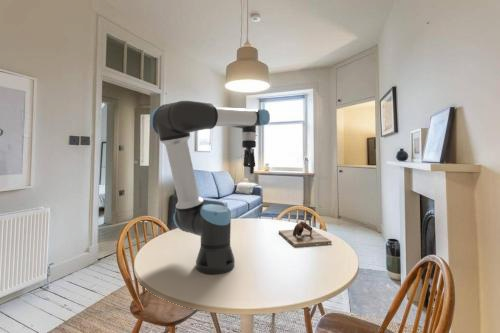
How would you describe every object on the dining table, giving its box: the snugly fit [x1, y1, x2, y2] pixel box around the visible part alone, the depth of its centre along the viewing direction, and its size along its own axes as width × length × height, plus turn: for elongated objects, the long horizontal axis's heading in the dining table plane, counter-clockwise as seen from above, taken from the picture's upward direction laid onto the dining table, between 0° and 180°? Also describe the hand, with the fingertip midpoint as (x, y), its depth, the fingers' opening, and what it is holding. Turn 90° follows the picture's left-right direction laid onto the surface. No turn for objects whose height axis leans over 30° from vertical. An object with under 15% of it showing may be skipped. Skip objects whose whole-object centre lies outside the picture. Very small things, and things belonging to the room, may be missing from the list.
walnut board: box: [278, 228, 332, 248], centre depth 128 cm, size 22×20×2 cm
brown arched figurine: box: [293, 220, 313, 236], centre depth 127 cm, size 12×10×8 cm
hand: (248, 178), depth 132 cm, fingers open, 13 cm apart
